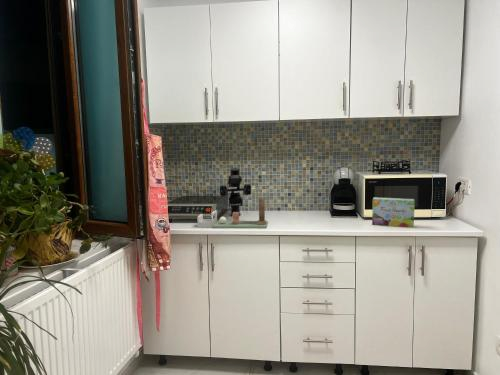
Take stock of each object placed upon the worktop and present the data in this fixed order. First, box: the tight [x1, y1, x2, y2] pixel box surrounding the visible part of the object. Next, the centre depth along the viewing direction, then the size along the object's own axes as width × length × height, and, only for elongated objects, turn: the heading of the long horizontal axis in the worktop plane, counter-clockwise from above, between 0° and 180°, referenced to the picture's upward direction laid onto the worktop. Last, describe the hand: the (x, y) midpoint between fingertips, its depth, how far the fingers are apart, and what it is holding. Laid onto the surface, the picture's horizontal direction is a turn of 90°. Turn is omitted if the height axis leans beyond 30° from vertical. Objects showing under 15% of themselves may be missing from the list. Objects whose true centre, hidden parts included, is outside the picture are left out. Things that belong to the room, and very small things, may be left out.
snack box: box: [371, 196, 415, 228], centre depth 199 cm, size 21×6×15 cm, turn 66°
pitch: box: [196, 209, 269, 229], centre depth 208 cm, size 14×39×8 cm, turn 83°
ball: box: [218, 216, 227, 224], centre depth 208 cm, size 4×4×4 cm
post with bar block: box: [231, 197, 268, 224], centre depth 206 cm, size 5×20×14 cm, turn 83°
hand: (235, 194), depth 210 cm, fingers open, 9 cm apart
